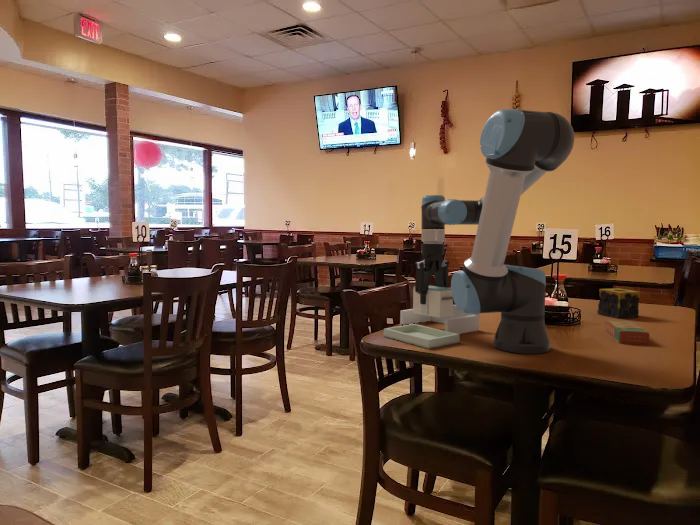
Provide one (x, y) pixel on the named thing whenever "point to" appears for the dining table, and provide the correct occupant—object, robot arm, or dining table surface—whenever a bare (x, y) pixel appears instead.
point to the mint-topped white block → (435, 302)
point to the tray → (422, 336)
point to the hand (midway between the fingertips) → (432, 313)
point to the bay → (445, 320)
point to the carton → (627, 332)
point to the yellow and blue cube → (619, 303)
